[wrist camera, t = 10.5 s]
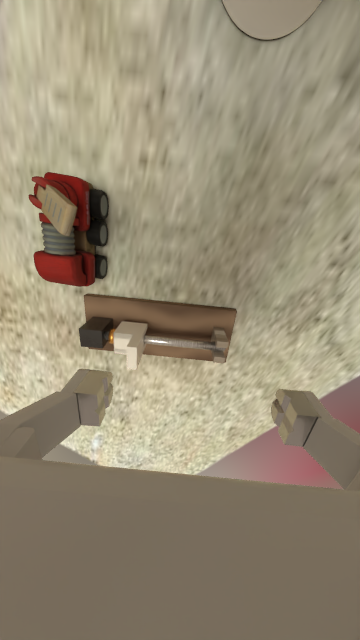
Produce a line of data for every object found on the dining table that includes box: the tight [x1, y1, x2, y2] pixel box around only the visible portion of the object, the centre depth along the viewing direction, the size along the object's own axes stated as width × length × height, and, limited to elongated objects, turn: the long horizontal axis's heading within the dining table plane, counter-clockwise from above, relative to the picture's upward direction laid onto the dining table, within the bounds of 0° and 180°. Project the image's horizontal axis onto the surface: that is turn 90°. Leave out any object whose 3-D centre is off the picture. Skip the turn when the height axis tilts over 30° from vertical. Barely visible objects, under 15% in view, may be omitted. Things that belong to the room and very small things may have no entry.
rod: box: [79, 316, 225, 352], centre depth 39 cm, size 4×26×6 cm, turn 84°
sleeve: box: [113, 321, 147, 370], centre depth 36 cm, size 4×5×9 cm
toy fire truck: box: [29, 172, 108, 287], centre depth 29 cm, size 11×16×18 cm
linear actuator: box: [84, 294, 237, 363], centre depth 40 cm, size 12×30×8 cm, turn 85°
